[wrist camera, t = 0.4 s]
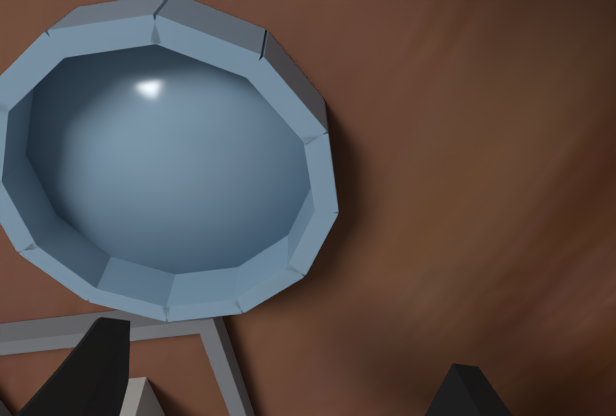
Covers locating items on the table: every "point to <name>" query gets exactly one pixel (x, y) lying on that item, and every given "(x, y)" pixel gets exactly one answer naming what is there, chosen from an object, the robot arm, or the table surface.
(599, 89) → the table surface
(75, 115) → the bowl
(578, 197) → the table surface
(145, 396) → the stone block
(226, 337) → the tray
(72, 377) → the robot arm
